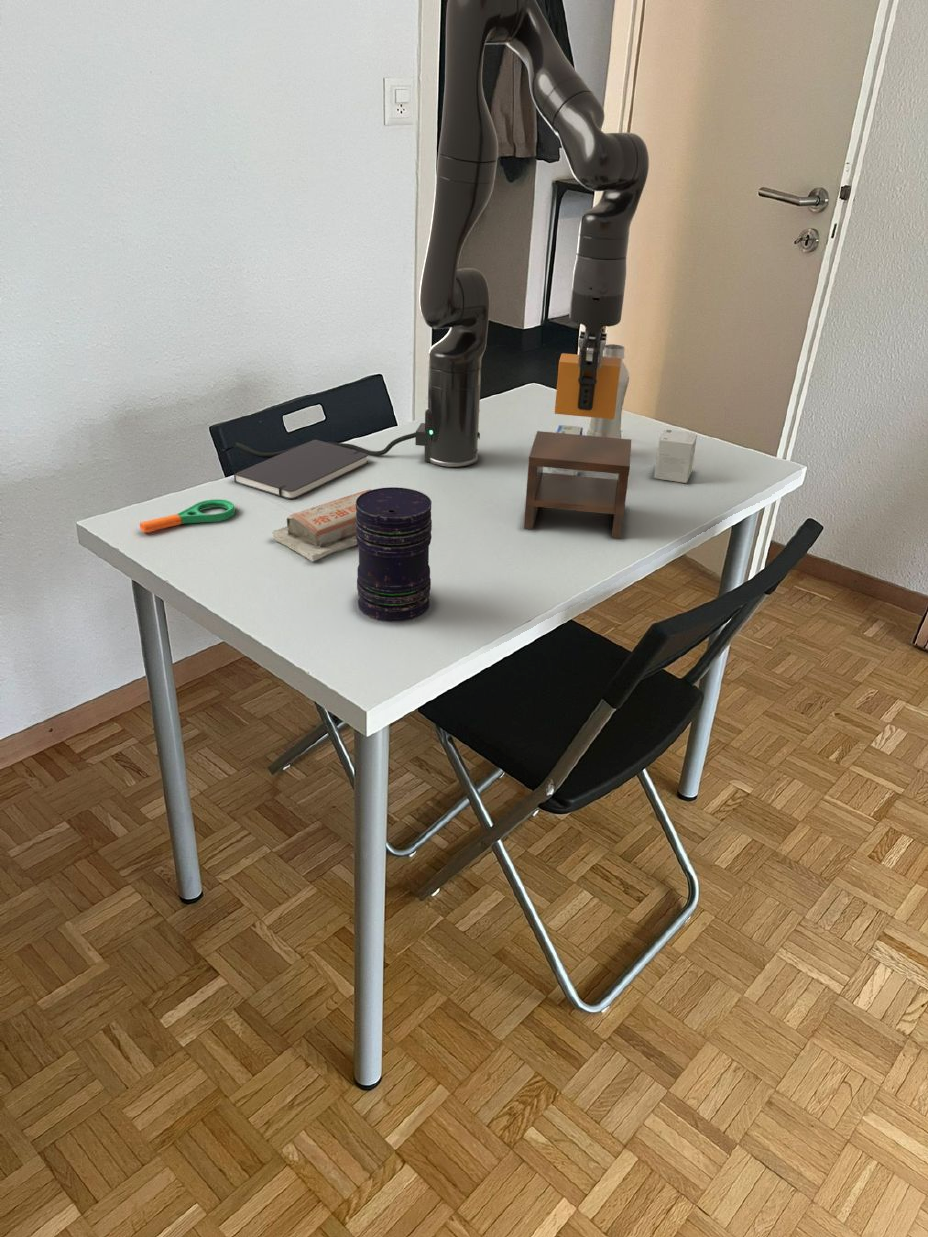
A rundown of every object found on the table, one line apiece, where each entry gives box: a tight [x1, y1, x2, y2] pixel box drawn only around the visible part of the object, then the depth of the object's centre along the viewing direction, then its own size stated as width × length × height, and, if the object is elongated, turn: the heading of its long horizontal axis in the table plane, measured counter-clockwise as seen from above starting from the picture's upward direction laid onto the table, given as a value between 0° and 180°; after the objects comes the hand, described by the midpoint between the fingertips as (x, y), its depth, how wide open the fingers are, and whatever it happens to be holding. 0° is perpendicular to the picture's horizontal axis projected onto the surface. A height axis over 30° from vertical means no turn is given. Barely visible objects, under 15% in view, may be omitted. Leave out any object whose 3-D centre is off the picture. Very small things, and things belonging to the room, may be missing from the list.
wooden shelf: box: [523, 430, 632, 540], centre depth 155 cm, size 15×12×12 cm
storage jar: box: [356, 486, 433, 623], centre depth 128 cm, size 10×10×15 cm
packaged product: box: [272, 489, 371, 563], centre depth 149 cm, size 18×5×10 cm
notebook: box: [233, 439, 369, 500], centre depth 171 cm, size 13×2×21 cm
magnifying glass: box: [139, 498, 235, 534], centre depth 152 cm, size 15×6×2 cm, turn 131°
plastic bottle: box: [586, 343, 630, 439], centre depth 179 cm, size 6×7×20 cm
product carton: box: [653, 429, 698, 484], centre depth 174 cm, size 6×6×7 cm
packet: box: [554, 352, 621, 419], centre depth 147 cm, size 9×5×8 cm, turn 80°
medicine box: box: [549, 424, 584, 476], centre depth 170 cm, size 8×4×9 cm, turn 168°
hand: (586, 403), depth 148 cm, fingers closed on packet, 4 cm apart
